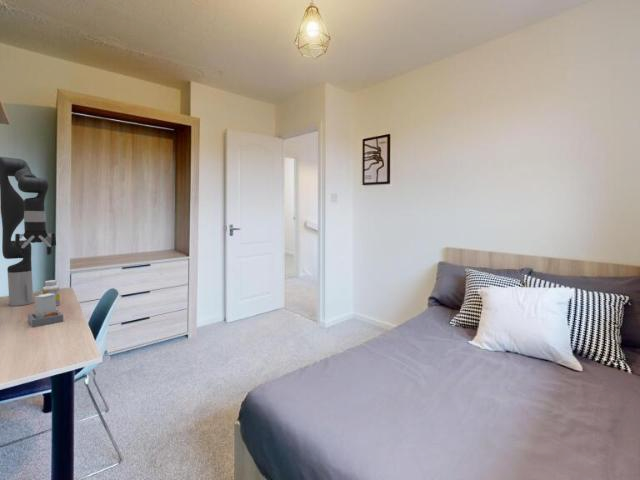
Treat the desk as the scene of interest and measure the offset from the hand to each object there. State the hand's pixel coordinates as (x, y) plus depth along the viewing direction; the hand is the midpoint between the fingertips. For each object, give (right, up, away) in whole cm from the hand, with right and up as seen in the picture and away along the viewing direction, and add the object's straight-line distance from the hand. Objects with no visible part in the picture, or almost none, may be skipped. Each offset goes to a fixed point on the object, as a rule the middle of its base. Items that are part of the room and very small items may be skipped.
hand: (36, 255), depth 151 cm
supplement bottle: (-7, -27, +17) cm, 32 cm away
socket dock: (+11, -29, -7) cm, 32 cm away
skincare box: (+11, -29, -7) cm, 32 cm away
